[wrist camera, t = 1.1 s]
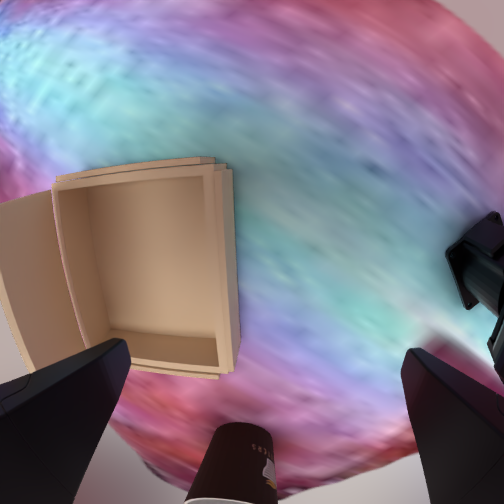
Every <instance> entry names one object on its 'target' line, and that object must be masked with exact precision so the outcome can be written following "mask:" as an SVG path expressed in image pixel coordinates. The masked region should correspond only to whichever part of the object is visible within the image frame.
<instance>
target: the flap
mask: <svg viewBox="0 0 504 504" xmlns="http://www.w3.org/2000/svg"><path fill="white" fill-rule="evenodd" d="M0 301H1V304H2V307H3V310H4V313H5V315H6V318H7V321H8V324H9V327H10V329H11V332H12V335H13V337H14V339H15V342H16V345H17V347H18V349H19V352H20V354H21V356H22V358H23V361H24V363H25V365H26V367H27V369H28V371H29V373H32V372H34V371H37V370H39V369H41V368H44V367H46V366H49V365H51V364H53V363H56V362H58V361H60V360H63V359H65V358H68V357H70V356H72V355H75V354H77V353H79V352H82V351H84V350H86V348H85V345H84V342H83V339H82V336H81V333H80V330H79V327H78V323H77V320H76V317H75V313H74V310H73V306H72V303H71V299H70V295H69V291H68V287H67V283H66V279H65V274H64V270H63V265H62V260H61V255H60V250H59V245H58V239H57V233H56V227H55V220H54V213H53V205H52V195H51V190H47V191H43V192H39V193H35V194H31V195H28V196H24V197H21V198H17V199H14V200H10V201H7V202H4V203H1V204H0Z"/></svg>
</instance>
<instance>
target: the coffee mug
mask: <svg viewBox="0 0 504 504" xmlns="http://www.w3.org/2000/svg"><path fill="white" fill-rule="evenodd" d="M184 504H278V499H277V488H276V476H275V465H274V454H273V442H272V437H271V435H270V434H269V433H268V432H267V431H266V430H265V429H263V428H261V427H259V426H256V425H253V424H249V423H241V422H235V423H228V424H224V425H222V426H220V427H219V428H217V430H216V431H215V433H214V435H213V438H212V440H211V442H210V445H209V447H208V449H207V452H206V454H205V456H204V459H203V461H202V463H201V466H200V468H199V470H198V472H197V475H196V477H195V479H194V481H193V484H192V486H191V488H190V490H189V492H188V495H187V497H186V499H185V501H184Z"/></svg>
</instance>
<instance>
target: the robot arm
mask: <svg viewBox="0 0 504 504" xmlns="http://www.w3.org/2000/svg"><path fill="white" fill-rule="evenodd" d="M495 216H496V219H495ZM451 253H453V255H452V256H451V257H450V255H451ZM446 259H447V261H448V264H449V266H450V269H451V271H452V274H453V277H454V280H455V282H456V285H457V288H458V291H459V294H460V297H461V300H462V303H463V306H464V308H465V309H466V310H470V309H471V308H473V307H474V306H475V305H476V304H478V303H479V302H481V303H482V304H483V305H484V306H485V307H486V308H487V309H488V310H490V311H491V312H492V313H493V314H494V315H495V316H496V317H497V318H498V320H497V323H496V325H495V328H494V330H493V333H492V335H491V337H489V340H488V342H487V346H488V348H489V351H490V353H491V356H492V358H493V361H494V368H495V371H496V372H497V374H498V375H499V377H500V379H501V381H502V382H503V384H504V226H503V223H502V220H501V216H500V214H499V213H498V212H495V211H493V212H492V213H491V214H490V215H488V216H487V217H486V218H485V219H482V220H481V221H480V222H479V223H478V224H477V225H475V226H474V227H473V228H472V229H471V230H469V231H468V232H467V233H466V234H465V235H464V237H463V238H461V239H460V240H459V241H458V242H456V243H455V244H454V245H453V246H451V247H450V248H449V249H448V250H447V251H446ZM468 304H469V305H468ZM130 367H131V356H130V353H129V349H128V345H127V342H126V340H124V339H121V338H111V339H109V340H107V341H105V342H102V343H100V344H98V345H95V346H93V347H91V348H88V349H86V350H84V351H82V352H79V353H77V354H75V355H72V356H70V357H68V358H65V359H63V360H60V361H58V362H56V363H53V364H51V365H49V366H46V367H44V368H41V369H39V370H37V371H34V372H32V373H29V374H27V375H25V376H22V377H19V378H17V379H14V380H12V381H9V382H6V383H3V384H0V504H73V501H74V499H75V498H74V497H75V496H76V494H77V491H78V489H79V486H80V484H81V482H82V479H83V477H84V474H85V472H86V470H87V468H88V465H89V463H90V461H91V458H92V456H93V454H94V452H95V449H96V447H97V445H98V443H99V441H100V438H101V436H102V434H103V432H104V430H105V428H106V425H107V423H108V421H109V419H110V417H111V415H112V413H113V411H114V409H115V407H116V404H117V402H118V400H119V397H120V395H121V392H122V389H123V386H124V383H125V380H126V378H127V375H128V372H129V369H130ZM401 379H402V384H403V389H404V394H405V399H406V405H407V410H408V415H409V418H410V422H411V425H412V429H413V432H414V436H415V439H416V443H417V447H418V451H419V454H420V458H421V462H422V466H423V471H424V475H425V479H426V483H427V488H428V493H429V498H430V503H431V504H504V397H502V396H501V395H499V394H496V392H494V391H492V390H491V389H489V388H487V387H486V386H484V385H482V384H481V383H479V382H477V381H475V380H474V379H472V378H470V377H469V376H467V375H465V374H464V373H462V372H460V371H459V370H457V369H455V368H454V367H452V366H450V365H448V364H447V363H445V362H443V361H442V360H440V359H438V358H437V357H435V356H433V355H432V354H430V353H428V352H427V351H425V350H423V349H421V348H410V349H408V350H407V352H406V355H405V358H404V361H403V365H402V368H401Z"/></svg>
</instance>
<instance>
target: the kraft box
mask: <svg viewBox="0 0 504 504" xmlns="http://www.w3.org/2000/svg"><path fill="white" fill-rule="evenodd" d="M210 163H215V157H189V158H178V159H168V160H158V161H149V162H141V163H133V164H126V165H119V166H112V167H105V168H99V169H93V170H87V171H82V172H76V173H71V174H66V175H61V176H56V182H59V183H53V184H52V195H53V204H54V212H55V219H56V226H57V233H58V239H59V244H60V250H61V255H62V260H63V265H64V270H65V274H66V279H67V283H68V287H69V291H70V295H71V299H72V302H73V306H74V310H75V313H76V317H77V320H78V323H79V327H80V330H81V333H82V336H83V339H84V342H85V345H86V348H87V349H88V348H91V347H93V346H95V345H98V344H100V343H102V342H105V341H107V340H109V339H111V338H121V339H124V340H126V342H127V345H128V349H129V353H130V356H131V367H130V369H135V370H142V371H148V372H155V373H162V374H169V375H177V376H186V377H196V378H206V379H219V377H220V373H223V374H228V373H229V372H234V369H235V365H236V361H237V356H238V352H239V348H240V343H241V337H240V319H239V302H238V283H237V263H236V242H235V220H234V196H233V170H232V169H227V163H222V164H210ZM195 164H205V165H195ZM182 165H190V166H182ZM170 166H178V167H170ZM160 167H167V168H160ZM150 168H157V169H150ZM141 169H147V170H141ZM133 170H138V171H133ZM125 171H130V172H125ZM117 172H122V173H117ZM110 173H114V174H110ZM103 174H107V175H103ZM96 175H100V176H96ZM90 176H94V177H90ZM84 177H87V178H84ZM78 178H81V179H78ZM72 179H75V180H72ZM66 180H70V181H66ZM60 181H64V182H60Z"/></svg>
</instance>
